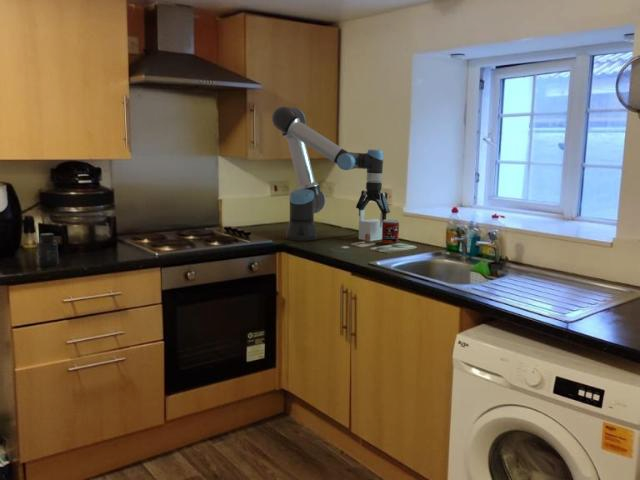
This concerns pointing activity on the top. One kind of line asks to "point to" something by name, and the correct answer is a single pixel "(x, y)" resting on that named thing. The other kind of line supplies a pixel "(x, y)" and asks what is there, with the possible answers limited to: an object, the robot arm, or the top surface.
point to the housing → (370, 229)
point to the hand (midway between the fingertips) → (371, 225)
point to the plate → (366, 243)
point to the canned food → (390, 231)
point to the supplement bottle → (47, 250)
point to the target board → (393, 248)
